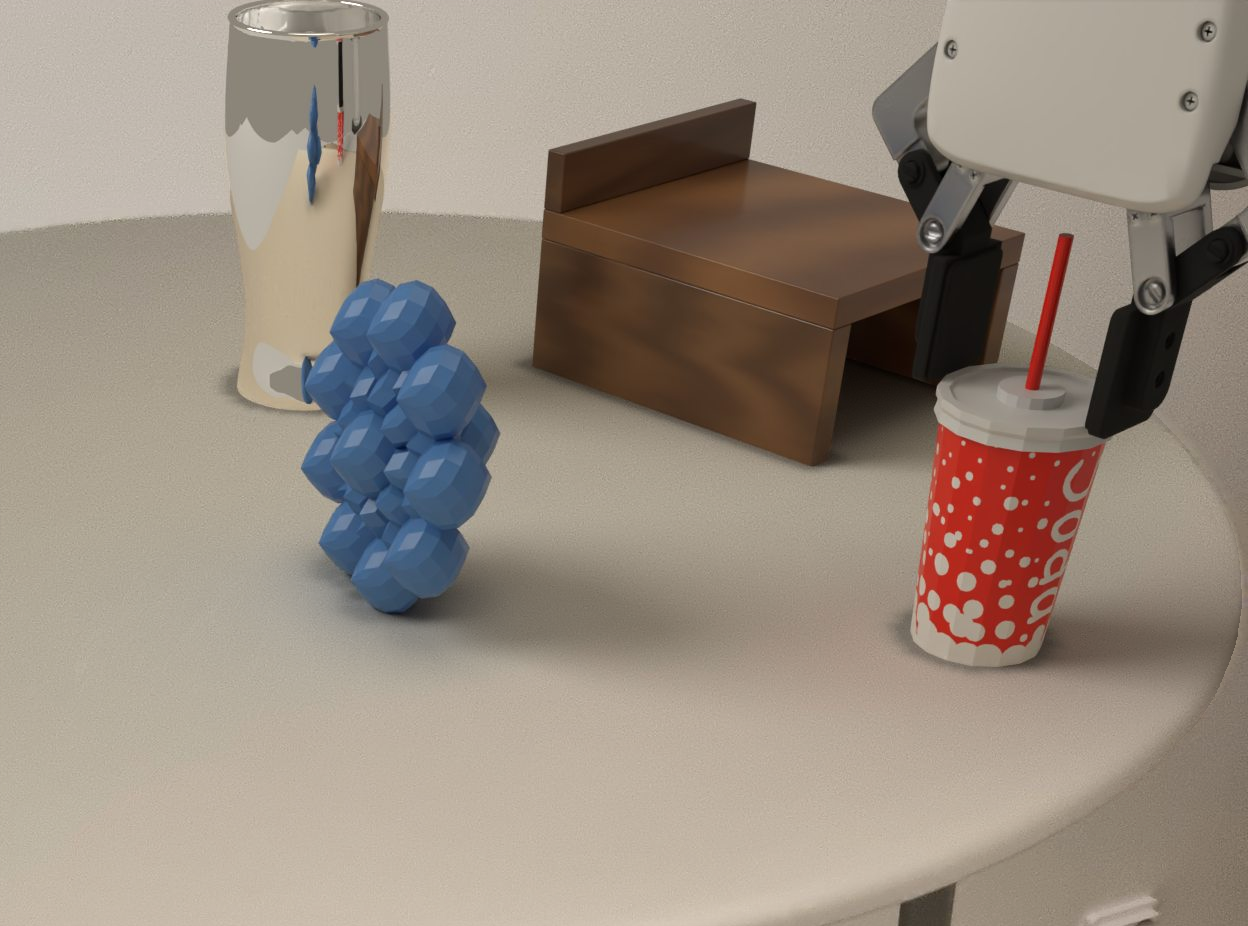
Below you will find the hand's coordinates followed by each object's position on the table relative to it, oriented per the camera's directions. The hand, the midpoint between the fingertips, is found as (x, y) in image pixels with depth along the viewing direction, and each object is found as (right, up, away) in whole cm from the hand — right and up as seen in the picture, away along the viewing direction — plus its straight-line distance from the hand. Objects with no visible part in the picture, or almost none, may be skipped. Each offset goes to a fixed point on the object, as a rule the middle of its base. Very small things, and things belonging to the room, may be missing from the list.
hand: (1030, 393), depth 73 cm
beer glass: (-24, +10, +25) cm, 36 cm away
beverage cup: (0, -7, +6) cm, 9 cm away
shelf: (-4, +11, +26) cm, 28 cm away
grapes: (-20, -5, +8) cm, 23 cm away
